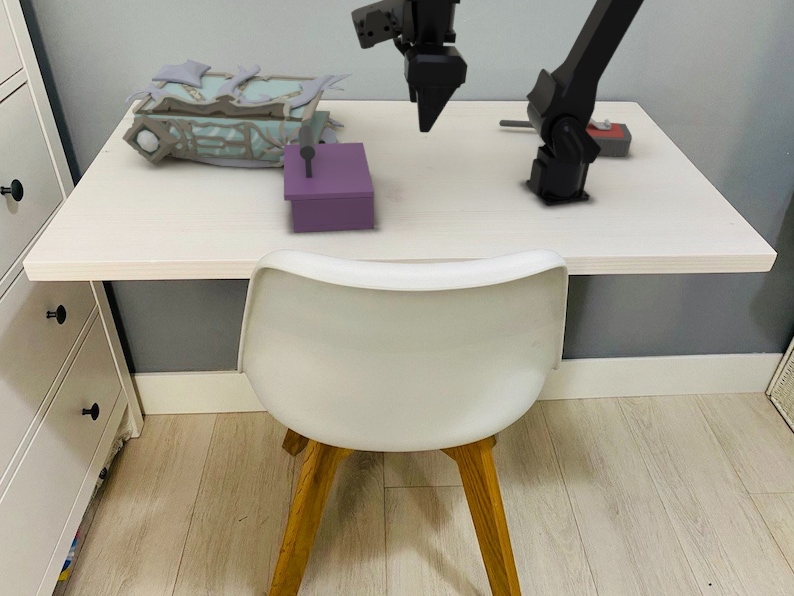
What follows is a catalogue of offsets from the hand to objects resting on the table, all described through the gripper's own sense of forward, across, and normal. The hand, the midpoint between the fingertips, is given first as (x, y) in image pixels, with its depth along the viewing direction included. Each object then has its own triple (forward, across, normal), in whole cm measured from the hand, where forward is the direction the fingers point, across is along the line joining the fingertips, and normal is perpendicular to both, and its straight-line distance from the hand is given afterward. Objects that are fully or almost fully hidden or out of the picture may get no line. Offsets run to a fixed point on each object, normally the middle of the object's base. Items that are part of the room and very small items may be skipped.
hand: (419, 116), depth 80 cm
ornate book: (+12, -18, -23) cm, 32 cm away
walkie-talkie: (+10, -16, +26) cm, 32 cm away
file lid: (+7, +1, -11) cm, 13 cm away
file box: (+12, +1, -11) cm, 16 cm away
